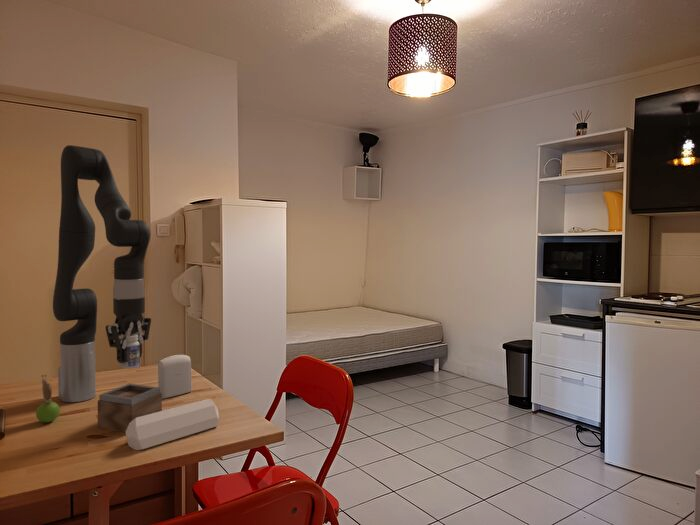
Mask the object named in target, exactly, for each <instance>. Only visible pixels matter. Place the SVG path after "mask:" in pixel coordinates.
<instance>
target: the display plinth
mask: <svg viewBox="0 0 700 525" xmlns="http://www.w3.org/2000/svg"><path fill="white" fill-rule="evenodd" d="M98 395H99V397H98V398H99V399H98V400H97V428H99V429H100V428H101V429H105V430H106V429H107V430H112V431H116V432H117V431H118V432H124V433H126V430H127V427H128V425H129V423H130V422H131V421H132V420H134V419H135V418H137V417H141V416H144V415H148V414H152V413H156V412H160V411H163V404H162V403H163V402H162V401H163V399H162V393H160V388H159V387H158V386H150V385H144V384H143V385H142V384H136V383H127V384H124V385H122V386H119V387H117V388H114V389H111V390H108V391H106V392H103V393H100V394H98Z"/></svg>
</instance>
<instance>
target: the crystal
mask: <svg viewBox="0 0 700 525" xmlns="http://www.w3.org/2000/svg"><path fill="white" fill-rule="evenodd" d="M219 415H220V413H219V410H218V407H217V405H216V404H215V402H214V401H213V400H212V399H211V398H206V399H203V400H198V401H195V402H190V403H187V404H184V405H179V406H176V407H172V408H168V409H164V410H162V411H160V412H156V413H152V414H148V415H144V416H141V417H137V418H135V419H134V420H132V421H131V422H130V423H129V425H128V427H127V430H126V432H125V436H126V438H125V439H126V441H127V444H128V447H130V448H131V449H132V450H136V451H139V450H140V451H141V450H145V449H149V448H152V447H154V446H158V445H161V444H165V443H168V442H170V441H171V442H172V441H174V440H177V439H181V438H183V437H187V436H190V435H193V434H196V433H199V432H203V431H207V430H210V429H212V428H215V427H218V425H219V420H220V418H219V417H220V416H219Z"/></svg>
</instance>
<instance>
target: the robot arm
mask: <svg viewBox="0 0 700 525" xmlns="http://www.w3.org/2000/svg"><path fill="white" fill-rule="evenodd" d="M79 180H85V181H95V182H96V183H97V184H99V185H98V188H97V189H96V191H95V194H94V203H95V206H96V209H97V210H98V212H99V214H100V216H101V217H102V219H103V222H104V223H103V224H104V229H105V238H106V240H107V242H108V243H110V245H111V246H114V247H119V248H120V247H121V248H124V247H127V248H128V247H129V248H130V250H129V252H128V253H127V254H124V255H121V256H117V257H115V259H114V261H113V287H112V288H113V289H112V291H113V292H112V298H113V299H112V301H113V302H112V303H113V306H112V307H113V308H112V310H113V314H114V315H115V319H114V323H112V324H110V325H109V324H108V325H105V332H106V337H107V341H108V344H109V348H115V349H116V360H117V362H118V363H119V364H120V363H125V362H126V348H125V347H126V344H127V340H129V338H130V335H131V334H137V335H138V340H137V341H138V342H139V344H140V358H142V355H143V344H144V341H147V340H148V339H149V336H150V329H151V323H152V318H150V317H143V314H145V311H146V308H145V306H146V301H145V300H146V298H145V293H146V292H145V291H146V290H145V287H146V286H145V281H144V264H145V259H146V258H145V257H146V254H147V251H148V247H149V243H150V239H151V229H150V226H149V224H148V223H147V222H146V221H144V220H141V219H140V220H139V219H131V217H132V212H131V209H130V207H129V205H128V204H127V203H126V200H125V199H124V197H123V196H122V193H120V190H119V188H118V187H117V184H116V180H115V178H114V175H113V172H112V169H111V166H110V163H109V161H108V159H107V157H106V155H105V153H104V152H102V151H101V150H99V149H98V148H97V149H96V148H90V147H84V146H78V145H66V146H65V147H64V148H63V150H62V152H61V156H60V185H61V197H60V198H61V201H60V202H61V203H60V204H61V205H60V217H59V226H58V227H59V228H58V229H59V230H58V254H57V257H58V258H57V270H56V277H55V284H54V290H53V295H52V296H53V298H52V311H53V315H54V317H55V319H56V320H57V321H58V322H69V321H70V322H71V321H76V323H75V324H74V325H73V326H71V327H70V328H69V329H66V330H65V331H63V332H61V334H60V336H59V350H60V351H59V352H60V353H59V354H60V356H59V358H60V362H59V363H60V366H59V367H58V368H57V373H58V374H57V375H58V376H57V380H58V382H57V383H58V384H57V385H58V399H59V400H61V402H64V403H79V402H85V401H88V400H92V399H94V398H95V397H96V395H97V394H96V347H95V346H96V332H97V321H98V320H97V319H98V299H97V296H96V293H95V291H94V290H92V289H91V288H74V283H75V279H76V276H77V274H78V272H79V271H80V269H81V268H82V266H83V265H84V264H85V263H86V261H87V260H88V258H89V257H90V255H91V254H92V252H93V250H94V248H95V240H96V239H95V238H96V223H95V221H94V219H93V217H92V215H91V214H90V212H89V211H88V209H87V207H86V206H85V204H84V202H83V200H82V198H81V195H80V191H79V190H80V189H79ZM122 335H125V336H122ZM121 343H122V344H121Z"/></svg>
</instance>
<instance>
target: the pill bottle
mask: <svg viewBox="0 0 700 525" xmlns="http://www.w3.org/2000/svg"><path fill="white" fill-rule="evenodd" d="M121 336H125V335H122V334H121ZM137 340H138V335H137V334H131V335H130V338H129V340H127V344H126V347H125V348H126V362H125V363H119V367H120V368H121V369H124V370H125V369H126V370H127V369H128V370H129V369H130V370H131V369H135V368H138V367H140V366H141V364H140V360H141V359H140V358H141V357H140V344H139V342H138V341H137ZM121 344H122V342H121Z"/></svg>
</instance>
